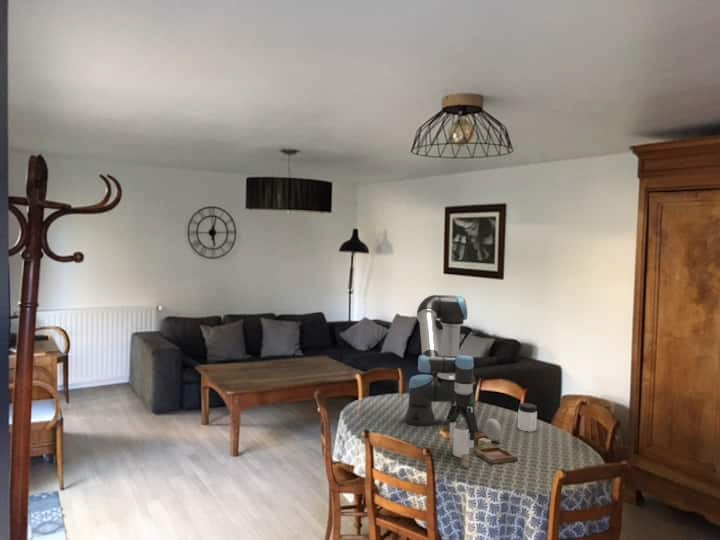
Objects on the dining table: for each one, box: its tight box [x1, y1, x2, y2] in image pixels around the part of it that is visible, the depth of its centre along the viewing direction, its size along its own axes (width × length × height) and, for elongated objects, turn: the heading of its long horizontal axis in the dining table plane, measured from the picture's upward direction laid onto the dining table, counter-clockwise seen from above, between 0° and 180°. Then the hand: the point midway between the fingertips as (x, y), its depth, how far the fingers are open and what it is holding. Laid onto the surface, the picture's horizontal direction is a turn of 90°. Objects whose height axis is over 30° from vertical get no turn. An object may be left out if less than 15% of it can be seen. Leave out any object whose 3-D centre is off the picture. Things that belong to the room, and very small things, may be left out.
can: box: [452, 424, 470, 458], centre depth 239 cm, size 6×6×12 cm
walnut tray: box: [473, 445, 519, 466], centre depth 238 cm, size 13×13×2 cm
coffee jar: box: [469, 375, 477, 408], centre depth 314 cm, size 10×8×19 cm
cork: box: [460, 453, 470, 469], centre depth 227 cm, size 3×3×4 cm
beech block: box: [477, 437, 492, 449], centre depth 249 cm, size 4×4×4 cm
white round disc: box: [484, 418, 502, 442], centre depth 260 cm, size 10×3×10 cm, turn 26°
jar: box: [517, 402, 538, 433], centre depth 279 cm, size 9×8×12 cm
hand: (461, 442), depth 239 cm, fingers open, 13 cm apart
